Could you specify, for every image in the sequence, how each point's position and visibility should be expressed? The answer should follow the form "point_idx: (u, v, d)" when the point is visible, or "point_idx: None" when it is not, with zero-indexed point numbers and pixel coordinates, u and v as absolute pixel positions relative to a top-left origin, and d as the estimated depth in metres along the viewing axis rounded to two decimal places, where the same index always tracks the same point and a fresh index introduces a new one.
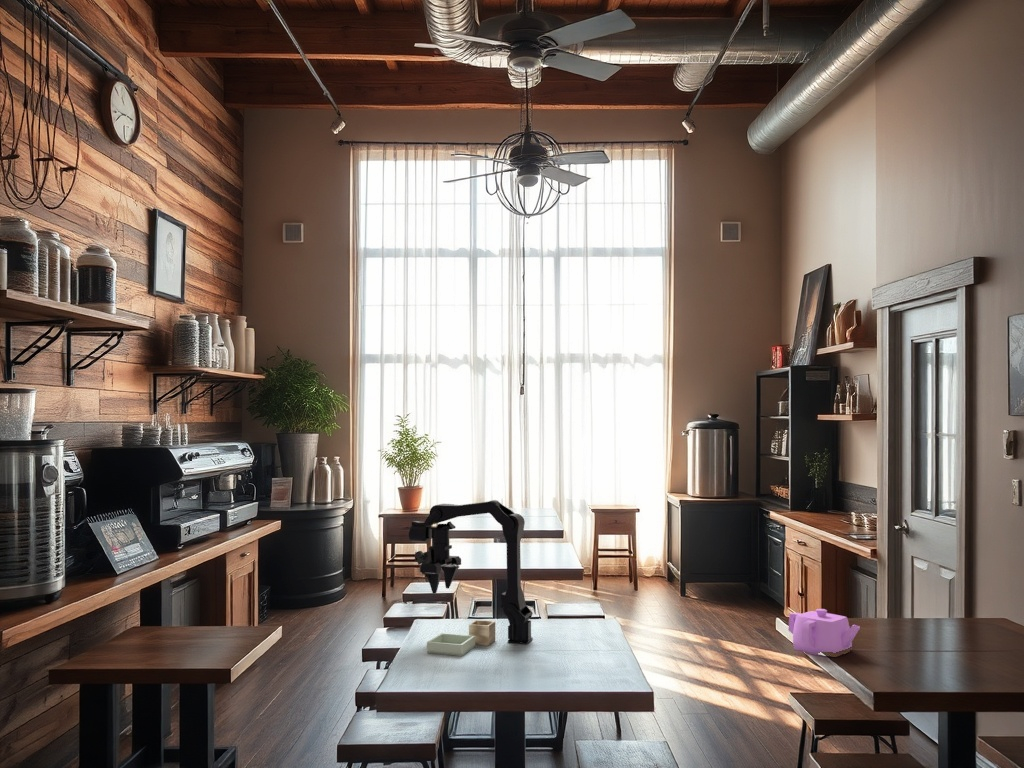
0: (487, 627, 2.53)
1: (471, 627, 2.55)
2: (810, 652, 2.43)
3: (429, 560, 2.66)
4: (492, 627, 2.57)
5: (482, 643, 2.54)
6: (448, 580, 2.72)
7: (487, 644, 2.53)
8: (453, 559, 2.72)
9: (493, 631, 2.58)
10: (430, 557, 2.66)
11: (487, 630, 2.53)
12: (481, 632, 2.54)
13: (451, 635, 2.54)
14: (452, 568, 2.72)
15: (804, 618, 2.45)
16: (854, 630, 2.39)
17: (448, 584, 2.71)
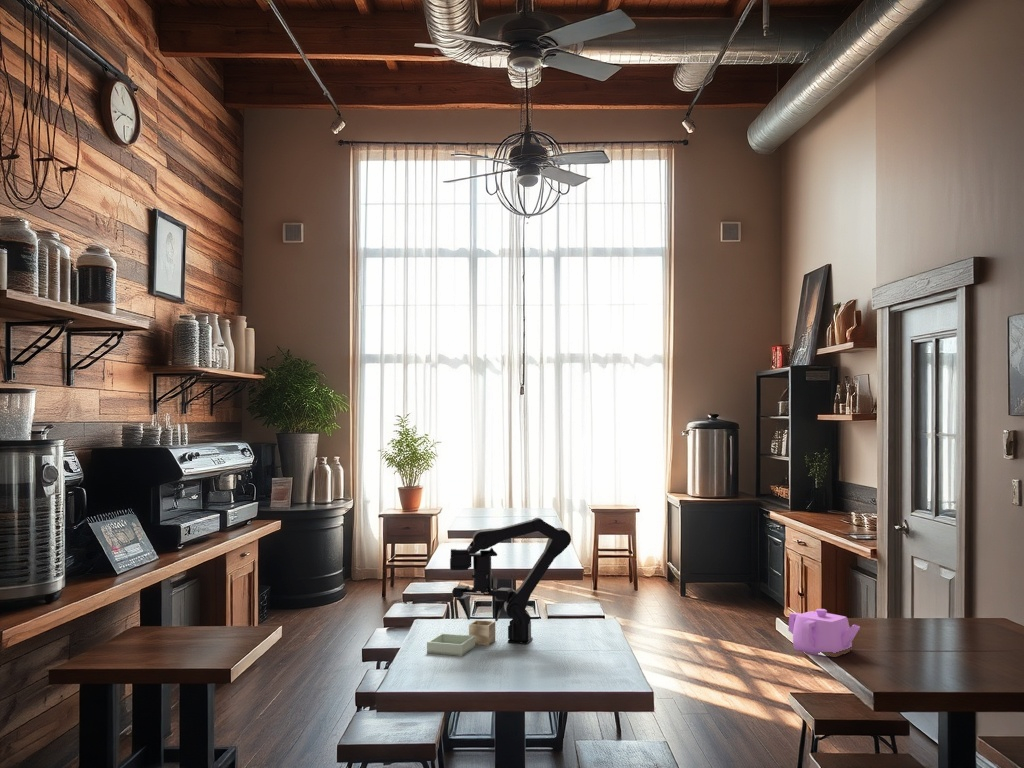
0: (487, 627, 2.53)
1: (471, 627, 2.55)
2: (810, 652, 2.43)
3: None
4: (492, 627, 2.57)
5: (482, 643, 2.54)
6: None
7: (487, 644, 2.53)
8: None
9: (493, 631, 2.58)
10: None
11: (487, 630, 2.53)
12: (481, 632, 2.54)
13: (451, 635, 2.54)
14: None
15: (804, 618, 2.46)
16: (854, 630, 2.39)
17: None
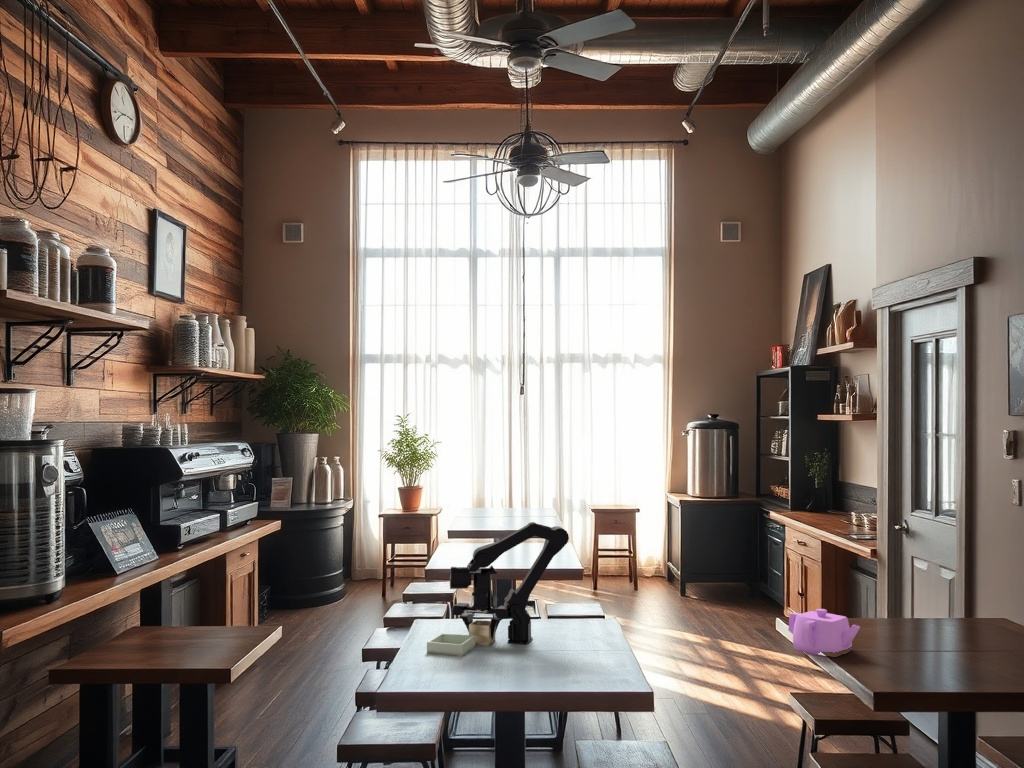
0: (487, 627, 2.53)
1: (471, 627, 2.55)
2: (810, 652, 2.43)
3: None
4: None
5: (482, 643, 2.54)
6: None
7: (487, 644, 2.53)
8: None
9: None
10: None
11: (487, 630, 2.53)
12: (481, 632, 2.54)
13: (451, 635, 2.54)
14: None
15: (804, 618, 2.46)
16: (854, 630, 2.39)
17: None
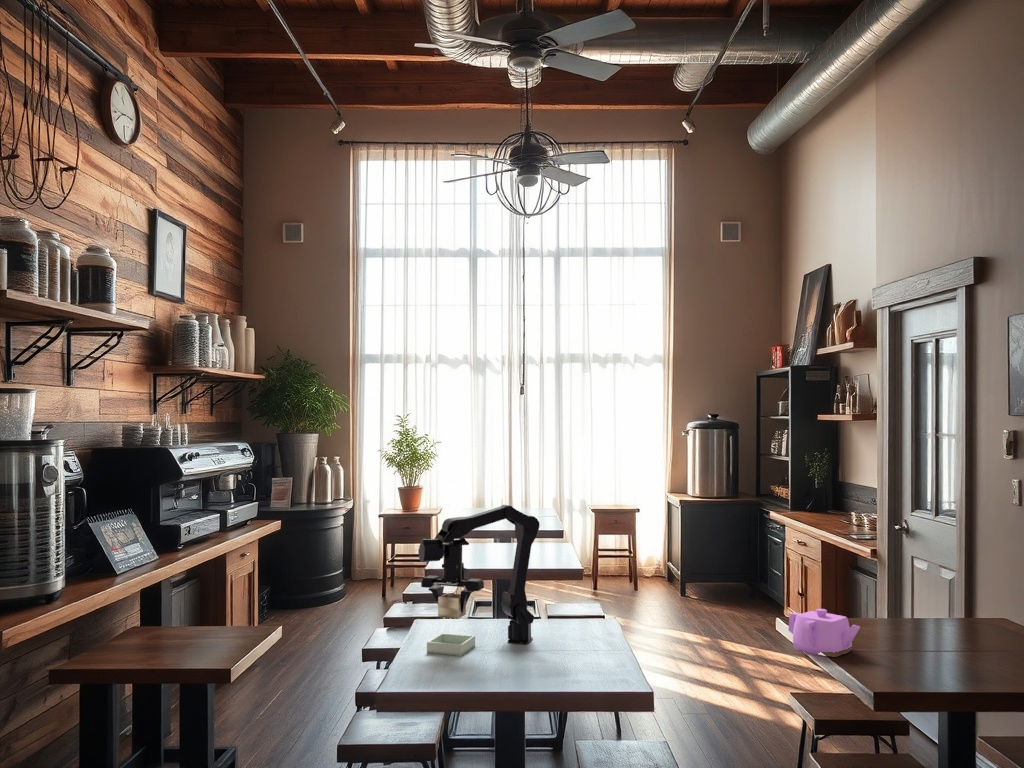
0: (457, 600, 2.46)
1: (440, 600, 2.47)
2: (810, 652, 2.43)
3: None
4: None
5: (451, 616, 2.46)
6: None
7: (456, 617, 2.45)
8: None
9: None
10: None
11: (457, 603, 2.46)
12: (450, 605, 2.46)
13: (451, 635, 2.54)
14: None
15: (804, 618, 2.46)
16: (854, 630, 2.39)
17: None
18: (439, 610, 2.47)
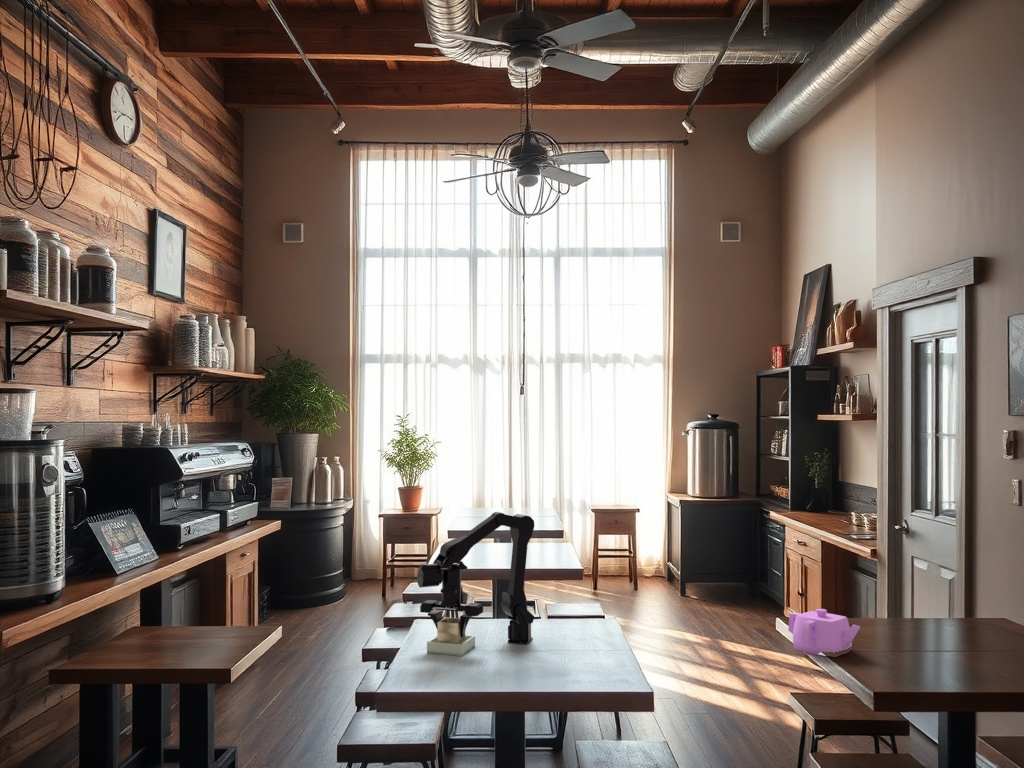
0: (456, 625, 2.45)
1: (440, 625, 2.47)
2: (810, 652, 2.43)
3: None
4: None
5: (451, 641, 2.45)
6: None
7: (456, 642, 2.45)
8: None
9: None
10: None
11: (456, 628, 2.45)
12: (450, 630, 2.46)
13: None
14: None
15: (804, 618, 2.46)
16: (854, 630, 2.39)
17: None
18: (438, 635, 2.47)
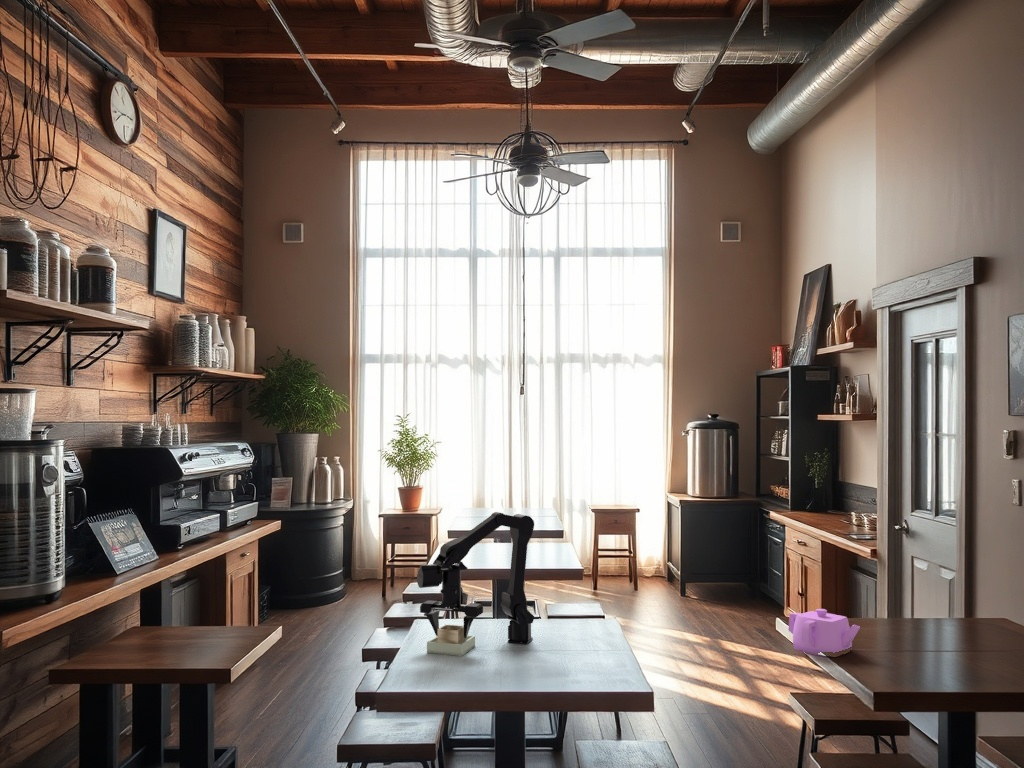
0: (456, 632, 2.45)
1: (440, 632, 2.46)
2: (810, 652, 2.43)
3: None
4: (461, 632, 2.48)
5: None
6: None
7: None
8: None
9: (463, 636, 2.49)
10: None
11: (456, 635, 2.45)
12: (450, 637, 2.45)
13: None
14: None
15: (804, 618, 2.46)
16: (854, 630, 2.39)
17: None
18: (438, 642, 2.46)
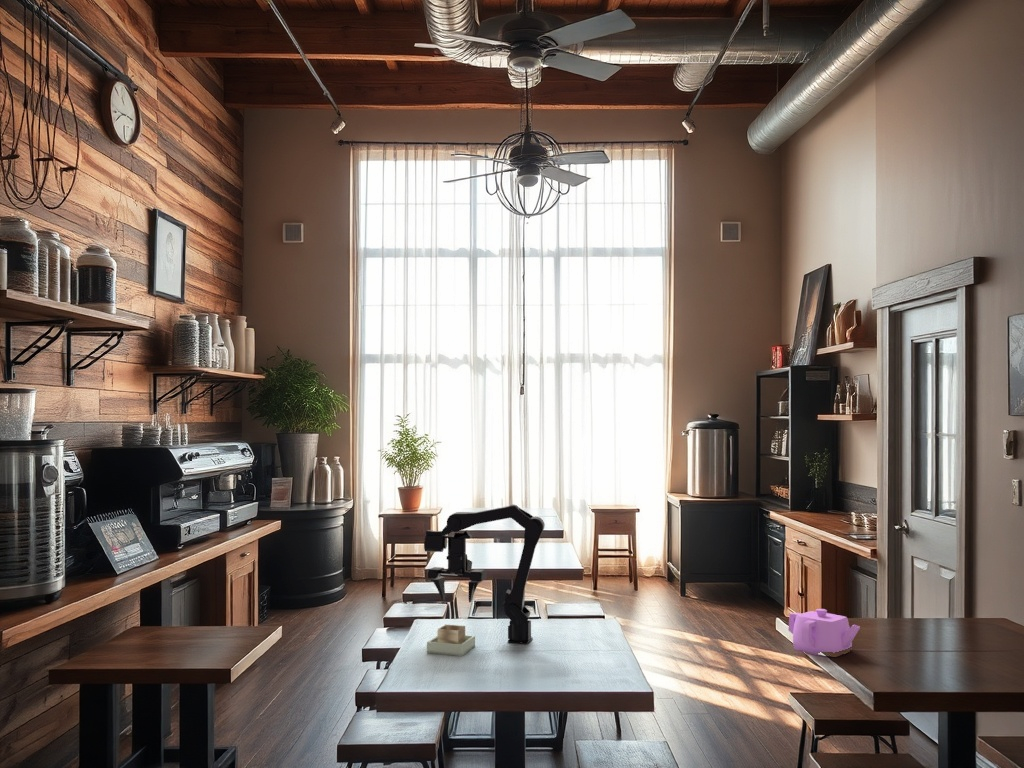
0: (456, 632, 2.45)
1: (440, 632, 2.46)
2: (810, 652, 2.43)
3: None
4: (461, 632, 2.48)
5: None
6: None
7: None
8: None
9: (463, 636, 2.49)
10: None
11: (456, 635, 2.45)
12: (450, 637, 2.45)
13: None
14: None
15: (804, 618, 2.46)
16: (854, 630, 2.39)
17: None
18: (438, 642, 2.46)
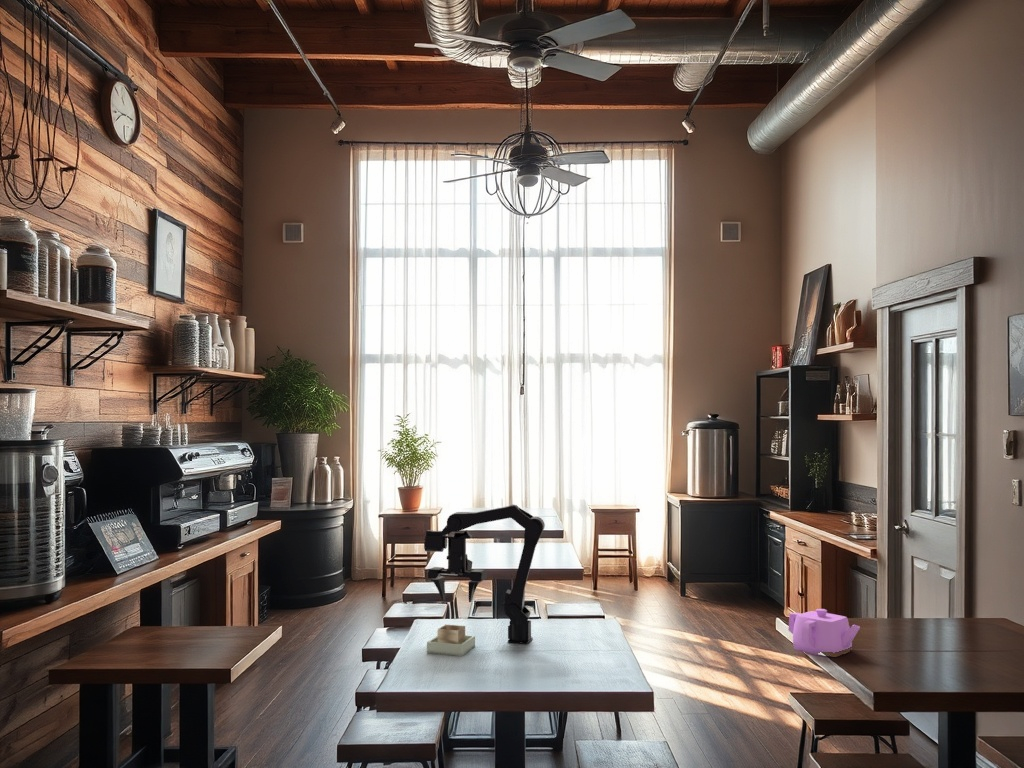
0: (456, 632, 2.45)
1: (440, 632, 2.46)
2: (810, 652, 2.43)
3: None
4: (461, 632, 2.48)
5: None
6: None
7: None
8: None
9: (463, 636, 2.49)
10: None
11: (456, 635, 2.45)
12: (450, 637, 2.45)
13: None
14: None
15: (804, 618, 2.46)
16: (854, 630, 2.39)
17: None
18: (438, 642, 2.46)
